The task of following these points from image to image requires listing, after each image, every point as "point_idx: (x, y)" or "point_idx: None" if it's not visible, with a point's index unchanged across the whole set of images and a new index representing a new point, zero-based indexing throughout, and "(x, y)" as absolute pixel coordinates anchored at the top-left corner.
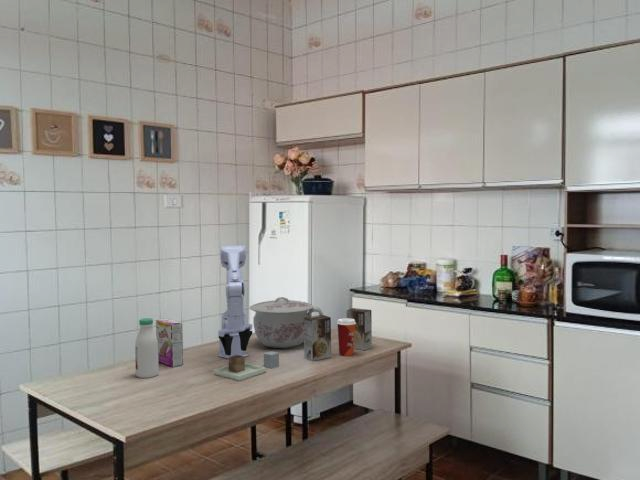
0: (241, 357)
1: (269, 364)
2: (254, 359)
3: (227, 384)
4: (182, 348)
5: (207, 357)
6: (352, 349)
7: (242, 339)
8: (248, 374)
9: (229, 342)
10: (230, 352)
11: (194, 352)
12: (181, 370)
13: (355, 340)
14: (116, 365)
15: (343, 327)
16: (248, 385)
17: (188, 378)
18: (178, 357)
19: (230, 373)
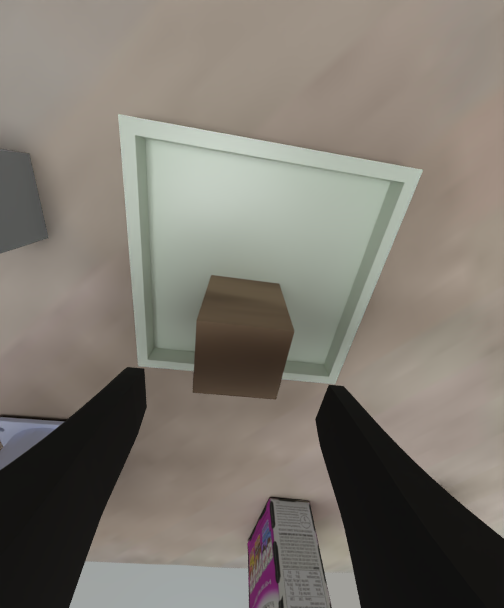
0: (233, 324)
1: (12, 177)
2: (5, 365)
3: (479, 198)
4: (279, 581)
5: (148, 496)
6: None
7: (81, 525)
8: (325, 153)
9: (482, 538)
10: (348, 402)
11: (136, 539)
12: (327, 470)
13: None
14: (349, 569)
15: None
16: (489, 16)
17: (413, 406)
18: (293, 536)
19: (373, 270)
